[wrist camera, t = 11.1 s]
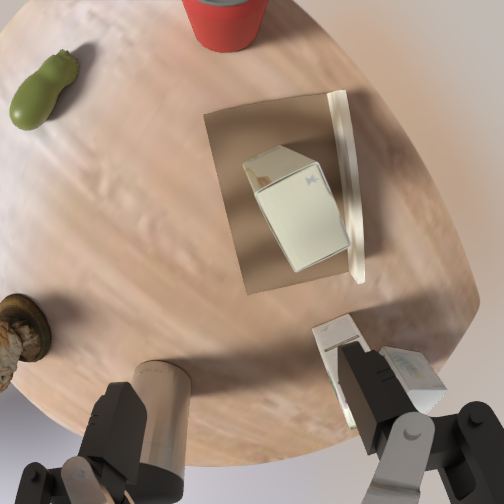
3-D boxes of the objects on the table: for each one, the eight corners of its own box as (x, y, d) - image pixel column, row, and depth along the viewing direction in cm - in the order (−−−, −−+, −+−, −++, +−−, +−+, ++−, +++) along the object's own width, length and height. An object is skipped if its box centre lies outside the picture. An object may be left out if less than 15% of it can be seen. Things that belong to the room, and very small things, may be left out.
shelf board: (351, 262, 35) (367, 281, 30) (246, 286, 35) (248, 310, 31) (330, 94, 27) (348, 89, 22) (204, 115, 27) (199, 113, 22)
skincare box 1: (240, 163, 27) (248, 188, 16) (280, 143, 27) (316, 154, 16) (270, 219, 30) (294, 277, 19) (307, 200, 29) (354, 247, 18)
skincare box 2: (422, 350, 44) (449, 390, 34) (402, 375, 46) (425, 415, 37) (383, 343, 42) (411, 390, 32) (362, 371, 44) (384, 418, 34)
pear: (-6, 112, 19) (50, 36, 18) (17, 117, 24) (67, 51, 23) (18, 137, 20) (78, 56, 19) (41, 140, 25) (93, 71, 24)
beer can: (226, 66, 25) (225, 28, 14) (181, 31, 23) (155, -18, 12) (271, 27, 23) (295, -23, 12) (226, -7, 21) (225, -67, 10)
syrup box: (310, 327, 39) (341, 411, 25) (350, 311, 38) (393, 388, 25) (320, 353, 41) (348, 432, 28) (356, 338, 40) (394, 412, 27)
